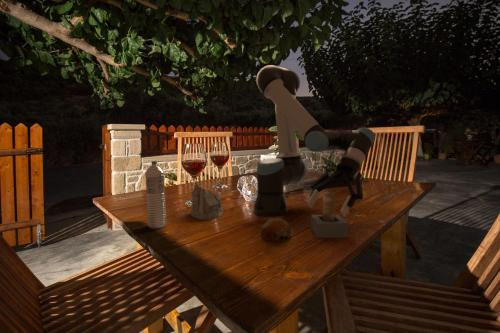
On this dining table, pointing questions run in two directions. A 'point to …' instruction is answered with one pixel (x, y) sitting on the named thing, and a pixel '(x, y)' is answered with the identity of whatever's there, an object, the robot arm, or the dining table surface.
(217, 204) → the ceramic cottage
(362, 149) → the robot arm
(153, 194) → the water bottle
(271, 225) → the bread roll
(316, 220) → the socket
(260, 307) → the dining table surface
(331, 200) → the dowel
